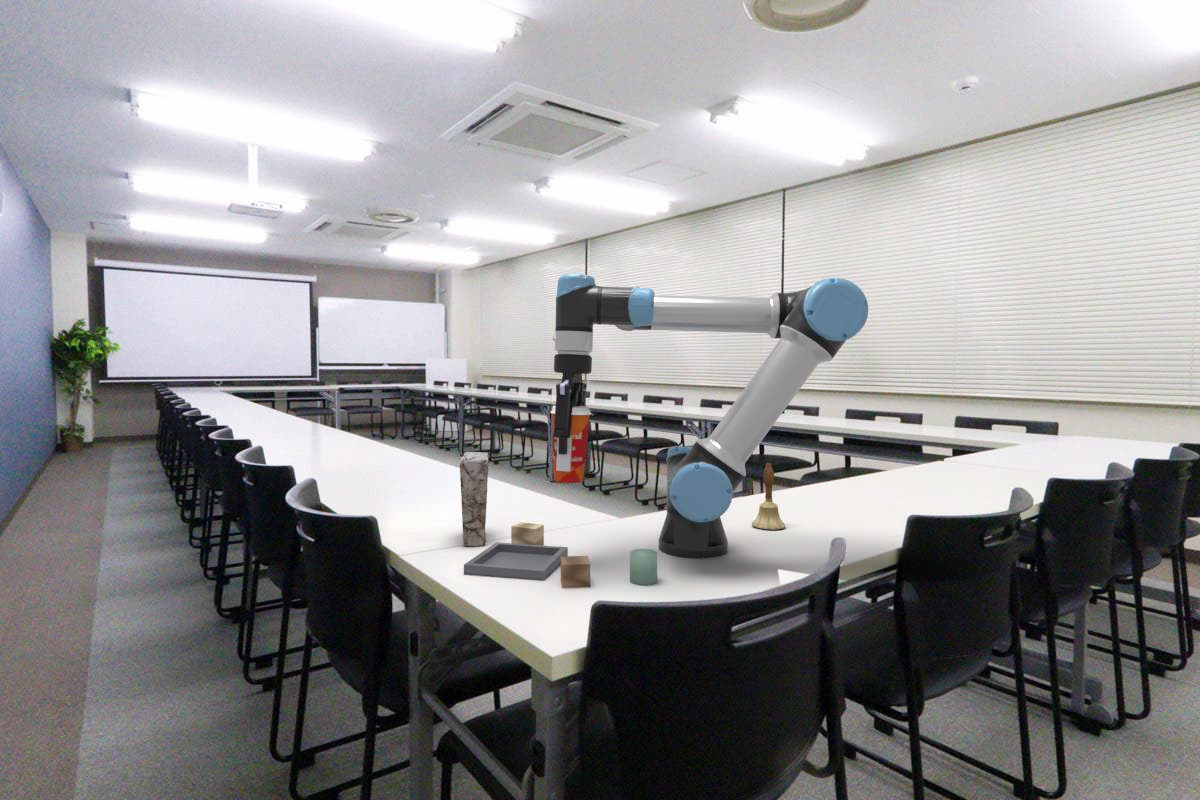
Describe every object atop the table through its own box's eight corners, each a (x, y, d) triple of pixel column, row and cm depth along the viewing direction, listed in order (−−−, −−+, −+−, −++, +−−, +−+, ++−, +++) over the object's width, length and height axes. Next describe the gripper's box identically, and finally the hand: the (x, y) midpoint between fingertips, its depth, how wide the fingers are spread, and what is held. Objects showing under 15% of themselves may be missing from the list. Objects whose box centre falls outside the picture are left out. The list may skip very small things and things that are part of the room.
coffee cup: (540, 481, 124) (543, 405, 124) (559, 475, 132) (561, 404, 131) (579, 485, 121) (582, 408, 120) (595, 479, 129) (598, 406, 128)
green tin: (658, 581, 118) (659, 549, 118) (655, 590, 113) (655, 557, 113) (632, 579, 119) (632, 547, 119) (627, 588, 114) (627, 555, 114)
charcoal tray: (567, 558, 132) (567, 547, 132) (543, 583, 116) (543, 571, 116) (496, 553, 135) (496, 542, 135) (463, 577, 120) (463, 564, 120)
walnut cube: (587, 582, 118) (587, 555, 117) (590, 591, 113) (590, 563, 112) (560, 583, 117) (560, 556, 117) (562, 592, 112) (562, 564, 112)
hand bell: (779, 531, 155) (780, 466, 154) (747, 526, 159) (747, 464, 158) (789, 524, 161) (790, 462, 161) (758, 520, 166) (758, 460, 165)
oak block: (543, 546, 141) (543, 524, 141) (535, 551, 137) (535, 529, 137) (520, 543, 143) (520, 522, 143) (511, 548, 139) (511, 526, 139)
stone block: (492, 546, 141) (492, 457, 140) (460, 548, 139) (460, 458, 138) (487, 531, 154) (487, 450, 153) (458, 533, 152) (457, 451, 151)
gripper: (569, 354, 136) (565, 459, 137) (538, 351, 116) (534, 474, 118) (603, 355, 134) (599, 462, 135) (577, 352, 115) (573, 477, 116)
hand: (569, 467), depth 126 cm, fingers closed on coffee cup, 7 cm apart
